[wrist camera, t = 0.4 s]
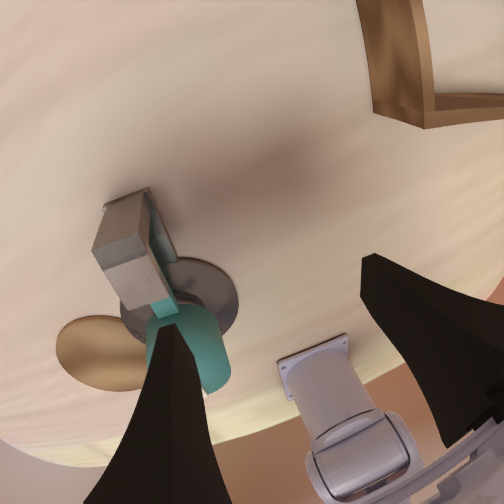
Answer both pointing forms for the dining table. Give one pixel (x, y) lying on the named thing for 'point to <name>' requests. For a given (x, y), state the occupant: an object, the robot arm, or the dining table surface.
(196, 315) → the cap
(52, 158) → the dining table surface
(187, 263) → the dark grey handled bowl
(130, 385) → the coaster
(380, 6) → the tray
